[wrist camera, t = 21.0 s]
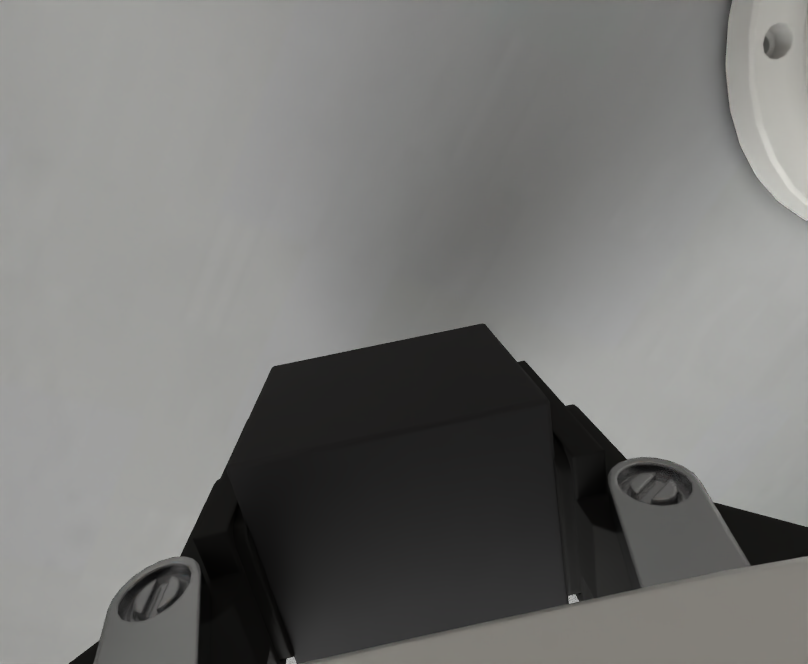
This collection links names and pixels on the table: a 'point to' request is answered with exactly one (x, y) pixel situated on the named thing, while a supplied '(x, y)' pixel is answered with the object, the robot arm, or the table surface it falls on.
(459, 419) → the dark grey square block
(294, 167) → the table surface
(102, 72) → the table surface
